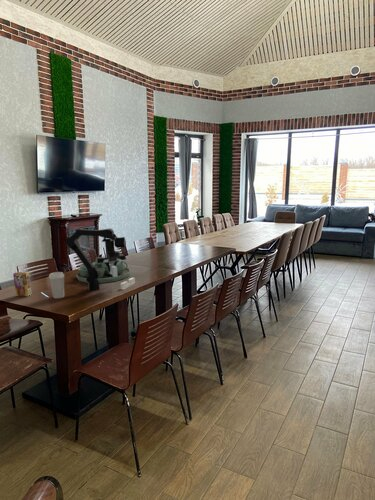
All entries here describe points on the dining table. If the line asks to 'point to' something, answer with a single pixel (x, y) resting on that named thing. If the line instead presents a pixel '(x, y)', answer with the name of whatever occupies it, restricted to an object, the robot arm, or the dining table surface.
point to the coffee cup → (57, 284)
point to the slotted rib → (127, 283)
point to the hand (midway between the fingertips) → (111, 271)
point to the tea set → (105, 272)
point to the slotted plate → (113, 270)
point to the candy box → (22, 283)
